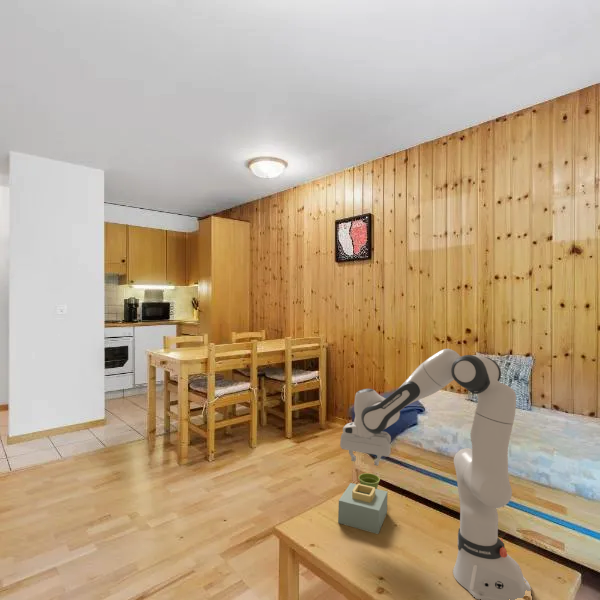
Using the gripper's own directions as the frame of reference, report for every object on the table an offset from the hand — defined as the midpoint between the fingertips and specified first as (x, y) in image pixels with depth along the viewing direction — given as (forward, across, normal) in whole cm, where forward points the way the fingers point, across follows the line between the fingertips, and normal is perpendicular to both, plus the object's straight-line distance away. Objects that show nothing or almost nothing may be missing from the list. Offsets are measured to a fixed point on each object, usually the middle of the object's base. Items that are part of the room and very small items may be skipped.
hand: (365, 462), depth 157 cm
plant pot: (+23, +3, -17) cm, 29 cm away
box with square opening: (+22, +1, 0) cm, 23 cm away
